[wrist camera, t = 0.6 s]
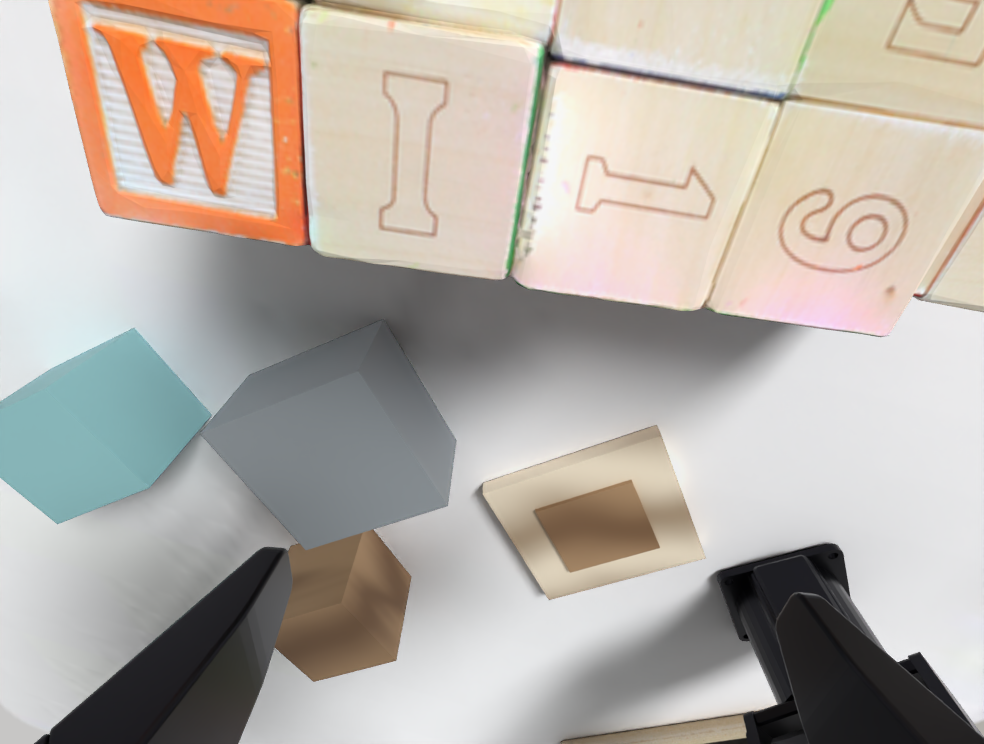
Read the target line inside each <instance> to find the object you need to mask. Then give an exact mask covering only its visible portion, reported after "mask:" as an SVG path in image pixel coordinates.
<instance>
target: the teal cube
mask: <svg viewBox="0 0 984 744" xmlns="http://www.w3.org/2000/svg"><path fill="white" fill-rule="evenodd" d="M210 417H211V414H210V412H209V411H208V410H207V409H206V408H205V407H204V406H203V405H202V403H201V402H200V401H199V400H198V399H197V398H196V397H195V396H194V395H193V393H192V392H191V391H190V390H189V389H188V388H187V387H186V386H185V384H184V383H183V382H182V381H181V380H180V379H179V378H178V377H177V375H176V374H175V373H174V372H173V371H172V370H171V369H170V368H169V366H168V365H167V364H166V363H165V362H164V361H163V360H162V359H161V357H160V356H159V355H158V354H157V353H156V352H155V351H154V350H153V348H152V347H151V346H150V345H149V344H148V343H147V342H146V341H145V339H144V338H143V337H142V336H141V335H140V334H139V333H138V332H137V330H136V329H135V328H133V329H131V330H129V331H127V332H125V333H123V334H121V335H119V336H116V337H114V338H112V339H110V340H108V341H106V342H104V343H102V344H100V345H98V346H96V347H94V348H92V349H90V350H88V351H86V352H84V353H82V354H80V355H78V356H76V357H74V358H72V359H70V360H68V361H66V362H64V363H62V364H60V365H58V366H56V367H54V368H52V369H50V370H48V371H47V372H45V373H44V374H42V375H41V376H39V377H38V378H36V379H34V380H33V381H31V382H30V383H28V384H27V385H25V386H24V387H22V388H21V389H19V390H17V391H16V392H14V393H13V394H11V395H10V396H8V397H7V398H5V399H4V400H2V401H1V402H0V478H1V479H2V480H4V481H5V482H6V483H7V484H9V485H10V486H11V487H12V488H13V489H15V490H16V491H17V492H18V493H20V494H21V495H22V496H23V497H25V498H26V499H27V500H28V501H29V502H31V503H32V504H33V505H34V506H36V507H37V508H38V509H39V510H41V511H42V512H43V513H44V514H45V515H47V516H48V517H49V518H50V519H52V520H53V521H54V522H55V523H57V524H59V523H62V522H64V521H67V520H69V519H72V518H74V517H77V516H79V515H82V514H85V513H87V512H90V511H92V510H95V509H97V508H100V507H102V506H105V505H107V504H110V503H112V502H115V501H117V500H120V499H122V498H125V497H127V496H130V495H132V494H135V493H138V492H140V491H143V490H145V489H148V488H150V486H151V485H152V484H153V483H154V482H155V481H156V479H157V478H158V477H159V476H160V475H161V474H162V472H163V471H164V470H165V469H166V468H167V467H168V466H169V464H170V463H171V462H172V461H173V460H174V459H175V457H176V456H177V455H178V454H179V453H180V452H181V450H182V449H183V448H184V447H185V446H186V445H187V443H188V442H189V441H190V440H191V439H192V438H193V436H194V435H195V434H196V433H197V432H198V431H199V429H200V428H201V427H202V426H203V425H204V424H205V422H206V421H207V420H208V419H209V418H210Z"/></svg>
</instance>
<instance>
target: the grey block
mask: <svg viewBox="0 0 984 744" xmlns="http://www.w3.org/2000/svg"><path fill="white" fill-rule="evenodd" d="M200 434H201V435H202V437H203V438H204V439H205V440H206V441H207V442H208V443H209V444H210V445H211V446H212V448H213V449H214V450H215V451H216V452H217V453H218V454H219V455H220V456H221V457H222V459H223V460H224V461H225V462H226V463H227V464H228V465H229V466H230V467H231V469H232V470H233V471H234V472H235V473H236V474H237V475H238V476H239V477H240V478H241V480H242V481H243V482H244V483H245V484H246V485H247V486H248V487H249V488H250V489H251V491H252V492H253V493H254V494H255V495H256V496H257V497H258V498H259V499H260V500H261V502H262V503H263V504H264V505H265V506H266V507H267V508H268V509H269V510H270V512H271V513H272V514H273V515H274V516H275V517H276V518H277V519H278V520H279V521H280V523H281V524H282V525H283V526H284V527H285V528H286V529H287V530H288V531H289V532H290V534H291V535H292V536H293V537H294V538H295V539H296V540H297V541H298V542H299V543H300V545H301V546H302V547H303V548H304V549H305V550H309V549H312V548H315V547H318V546H321V545H325V544H328V543H331V542H334V541H337V540H341V539H344V538H347V537H350V536H353V535H357V534H360V533H363V532H366V531H369V530H373V529H376V528H379V527H382V526H385V525H389V524H392V523H395V522H398V521H401V520H405V519H408V518H411V517H414V516H417V515H421V514H424V513H427V512H430V511H433V510H437V509H440V508H443V507H446V506H448V501H449V493H450V485H451V477H452V470H453V462H454V454H455V447H456V439H455V438H454V436H453V434H452V433H451V431H450V429H449V428H448V426H447V424H446V423H445V421H444V419H443V417H442V416H441V414H440V412H439V411H438V409H437V407H436V406H435V404H434V402H433V401H432V399H431V397H430V396H429V394H428V392H427V391H426V389H425V387H424V386H423V384H422V382H421V381H420V379H419V377H418V376H417V374H416V372H415V371H414V369H413V367H412V366H411V364H410V362H409V360H408V359H407V357H406V355H405V354H404V352H403V350H402V349H401V347H400V345H399V344H398V342H397V340H396V339H395V337H394V335H393V334H392V332H391V330H390V329H389V327H388V325H387V324H386V322H385V320H384V319H383V320H380V321H378V322H375V323H373V324H371V325H368V326H366V327H363V328H361V329H359V330H356V331H354V332H351V333H349V334H347V335H344V336H342V337H339V338H337V339H335V340H332V341H330V342H328V343H325V344H323V345H320V346H318V347H316V348H313V349H311V350H308V351H306V352H304V353H301V354H299V355H296V356H294V357H292V358H289V359H287V360H284V361H282V362H280V363H277V364H275V365H272V366H270V367H268V368H265V369H263V370H260V371H258V372H256V373H253V374H251V375H249V376H248V377H247V378H246V380H245V381H244V382H243V383H242V384H241V385H240V387H239V388H238V389H237V390H236V391H235V393H234V394H233V395H232V396H231V397H230V398H229V400H228V401H227V402H226V403H225V404H224V406H223V407H222V408H221V409H220V410H219V411H218V413H217V414H216V415H215V416H214V417H213V419H212V420H211V421H210V422H209V423H208V424H207V426H206V427H205V428H204V429H203V430H202V432H201V433H200Z"/></svg>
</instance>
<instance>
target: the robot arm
mask: <svg viewBox="0 0 984 744" xmlns="http://www.w3.org/2000/svg"><path fill="white" fill-rule="evenodd" d="M717 578H718V581H719V584H720V587H721V590H722V592H723V595H724V598H725V601H726V604H727V607H728V609H729V612H730V615H731V618H732V621H733V623H734V626H735V629H736V632H737V634H738V637H739V639H740V640H742V641H750V642H751V644H752V646H753V649H754V651H755V653H756V656H757V658H758V660H759V663H760V665H761V667H762V669H763V672H764V674H765V676H766V679H767V681H768V683H769V685H770V688H771V690H772V692H773V695H774V697H775V699H776V702H777V704H778V705H775V706H772V707H769V708H766V709H764V710H761V711H758V712H754V711H751V712H748V713H745V714H743V719H744V723H745V727H746V731H747V732H746V738H747V742H748V744H984V737H983V735H982V734H981V733H980V731H979V730H978V729H977V727H976V726H975V724H974V723H973V722H972V720H971V719H970V718H969V716H968V715H967V713H966V712H965V711H964V709H963V708H962V707H961V705H960V704H959V703H958V701H957V700H956V698H955V697H954V696H953V694H952V693H951V692H950V690H949V689H948V688H947V687H946V685H945V684H944V683H943V681H942V680H941V679H940V678H939V676H938V675H937V674H936V672H935V671H934V670H933V669H932V667H931V666H930V665H929V663H928V662H927V661H926V659H925V658H924V657H923V656H922V654H921V653H920V652H918V653H915V654H912V655H909V656H908V659H905V660H903V661H900V662H896V661H895V660H894V659H893V658H892V657H891V656H889V655H888V654H887V653H886V651H885V650H884V648H883V647H882V645H881V644H880V642H879V641H878V639H877V638H876V636H875V635H874V633H873V632H872V630H871V629H870V627H869V626H868V624H867V623H866V621H865V620H864V618H863V617H862V615H861V614H860V612H859V611H858V609H857V608H856V606H855V605H854V603H853V602H852V600H851V598H850V592H849V586H848V580H847V574H846V568H845V562H844V555H843V552H842V551H841V549H840V548H839V546H838V545H836V544H826V545H823V546H819V547H815V548H811V549H807V550H803V551H799V552H795V553H792V554H788V555H784V556H780V557H776V558H772V559H768V560H764V561H761V562H757V563H753V564H749V565H745V566H741V567H737V568H734V569H730V570H726V571H723V572H721V573H719V574H718V576H717ZM292 583H293V579H292V572H291V566H290V559H289V554H288V551H287V550H286V549H284V548H275V547H264V548H261V549H260V550H258V551H257V552H256V553H255V554H254V555H252V556H251V557H250V558H249V559H248V560H247V561H245V562H244V563H243V564H242V565H241V566H240V567H239V568H237V569H236V570H235V571H234V572H233V573H232V574H230V575H229V576H228V577H227V578H226V579H225V580H223V581H222V582H221V583H220V584H219V585H218V586H217V587H215V588H214V589H213V590H212V591H211V592H210V593H208V594H207V595H206V596H205V597H204V598H203V599H201V600H200V601H199V602H198V603H197V604H196V605H194V606H193V607H192V608H191V609H190V610H189V611H188V612H186V613H185V614H184V615H183V616H182V617H181V618H179V619H178V620H177V621H176V622H175V623H174V624H172V625H171V626H170V627H169V628H168V629H167V630H166V631H164V632H163V633H162V634H161V635H160V636H159V637H157V638H156V639H155V640H154V641H153V642H152V643H150V644H149V645H148V646H147V647H146V648H145V649H144V650H142V651H141V652H140V653H139V654H138V655H137V656H135V657H134V658H133V659H132V660H131V661H130V662H128V663H127V664H126V665H125V666H124V667H123V668H122V669H120V670H119V671H118V672H117V673H116V674H115V675H113V676H112V677H111V678H110V679H109V680H108V681H106V682H105V683H104V684H103V685H102V686H101V687H99V688H98V689H97V690H96V691H95V692H94V693H93V694H91V695H90V696H89V697H88V698H87V699H86V700H84V701H83V702H82V703H81V704H80V705H79V706H77V707H76V708H75V709H74V710H73V711H72V712H71V713H69V714H68V715H67V716H66V717H65V718H64V719H62V720H61V721H60V722H59V723H58V724H57V725H55V726H54V727H53V728H52V729H51V731H50V735H49V734H46V735H44V736H42V737H41V738H40V739H39V740H38V741H37V742H35V743H34V744H238V743H239V740H240V738H241V736H242V733H243V731H244V729H245V726H246V724H247V721H248V719H249V717H250V714H251V712H252V709H253V707H254V705H255V702H256V700H257V697H258V695H259V692H260V690H261V687H262V684H263V682H264V679H265V676H266V673H267V669H268V666H269V663H270V660H271V656H272V653H273V650H274V647H275V643H276V640H277V637H278V633H279V630H280V627H281V624H282V620H283V617H284V614H285V610H286V607H287V604H288V600H289V597H290V594H291V590H292Z"/></svg>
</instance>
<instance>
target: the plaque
mask: <svg viewBox="0 0 984 744" xmlns="http://www.w3.org/2000/svg"><path fill="white" fill-rule="evenodd" d="M483 496H484V497H485V499H486V500H487V502H488V504H489V505H490V507H491V508H492V510H493V512H494V513H495V515H496V516H497V518H498V520H499V521H500V523H501V524H502V526H503V527H504V529H505V531H506V532H507V534H508V535H509V537H510V539H511V540H512V542H513V543H514V545H515V547H516V548H517V550H518V551H519V553H520V555H521V556H522V558H523V559H524V561H525V563H526V564H527V566H528V567H529V569H530V571H531V572H532V574H533V575H534V577H535V579H536V580H537V582H538V583H539V585H540V586H541V588H542V590H543V591H544V593H545V594H546V596H547V598H548V599H549V600H551V599H555V598H559V597H562V596H566V595H570V594H574V593H577V592H581V591H585V590H589V589H592V588H596V587H600V586H604V585H607V584H611V583H615V582H619V581H623V580H626V579H630V578H634V577H638V576H641V575H645V574H649V573H653V572H656V571H660V570H664V569H668V568H671V567H675V566H679V565H683V564H686V563H690V562H694V561H698V560H702V559H705V558H706V557H705V555H704V552H703V549H702V546H701V544H700V541H699V538H698V535H697V533H696V530H695V527H694V524H693V522H692V519H691V516H690V513H689V511H688V508H687V505H686V502H685V499H684V497H683V494H682V491H681V488H680V486H679V483H678V480H677V477H676V475H675V472H674V469H673V466H672V464H671V461H670V458H669V455H668V453H667V450H666V447H665V444H664V442H663V439H662V436H661V434H660V431H659V429H658V427H657V425H656V426H653V427H650V428H647V429H644V430H641V431H638V432H635V433H632V434H629V435H626V436H623V437H620V438H617V439H614V440H611V441H608V442H605V443H602V444H599V445H596V446H593V447H590V448H587V449H584V450H581V451H578V452H575V453H572V454H569V455H566V456H563V457H560V458H557V459H554V460H550V461H547V462H544V463H541V464H538V465H535V466H532V467H529V468H526V469H523V470H520V471H517V472H514V473H511V474H508V475H505V476H502V477H499V478H496V479H493V480H490V481H487V482H484V483H483Z"/></svg>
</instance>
